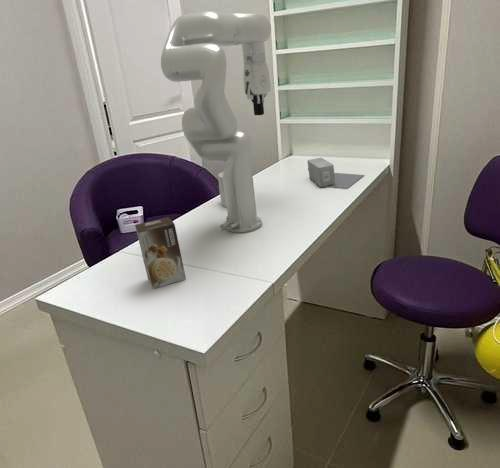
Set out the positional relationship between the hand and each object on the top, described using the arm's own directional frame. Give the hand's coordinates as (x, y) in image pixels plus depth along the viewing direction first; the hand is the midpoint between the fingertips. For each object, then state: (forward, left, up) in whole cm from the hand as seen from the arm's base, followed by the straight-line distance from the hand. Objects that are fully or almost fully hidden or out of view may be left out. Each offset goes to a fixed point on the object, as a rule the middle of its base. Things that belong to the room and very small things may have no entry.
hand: (259, 114), depth 151 cm
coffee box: (-64, -9, -32) cm, 72 cm away
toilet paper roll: (-8, +9, -32) cm, 34 cm away
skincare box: (+19, -16, -27) cm, 37 cm away
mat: (+28, -18, -32) cm, 46 cm away
